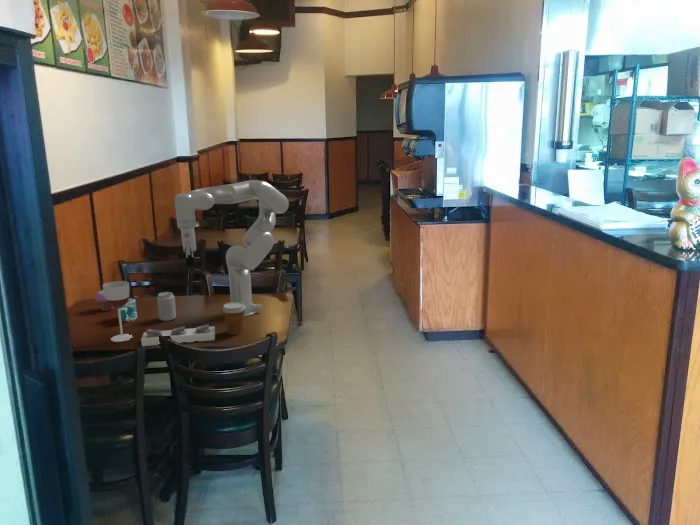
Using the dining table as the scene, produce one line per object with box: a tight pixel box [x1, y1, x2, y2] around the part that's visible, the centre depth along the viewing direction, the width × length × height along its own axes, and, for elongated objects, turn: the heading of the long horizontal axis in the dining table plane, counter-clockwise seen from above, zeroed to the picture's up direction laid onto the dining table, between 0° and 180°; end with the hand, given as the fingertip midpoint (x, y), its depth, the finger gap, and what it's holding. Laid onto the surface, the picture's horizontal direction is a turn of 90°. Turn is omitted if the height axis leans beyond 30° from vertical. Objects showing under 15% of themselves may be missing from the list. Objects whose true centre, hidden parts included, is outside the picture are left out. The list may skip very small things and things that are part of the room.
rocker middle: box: [171, 325, 186, 334], centre depth 230 cm, size 5×3×1 cm, turn 101°
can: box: [156, 291, 177, 322], centre depth 256 cm, size 8×8×12 cm
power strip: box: [140, 326, 216, 347], centre depth 232 cm, size 28×8×3 cm, turn 101°
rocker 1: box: [146, 328, 162, 335], centre depth 229 cm, size 5×3×1 cm, turn 101°
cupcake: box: [95, 289, 114, 312], centre depth 271 cm, size 9×9×10 cm
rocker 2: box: [195, 323, 210, 332], centre depth 232 cm, size 5×3×1 cm, turn 101°
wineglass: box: [102, 280, 134, 343], centre depth 233 cm, size 9×10×23 cm
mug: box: [116, 298, 138, 322], centre depth 256 cm, size 8×12×8 cm
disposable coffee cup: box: [221, 301, 246, 336], centre depth 238 cm, size 10×10×12 cm
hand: (191, 266), depth 242 cm, fingers closed
